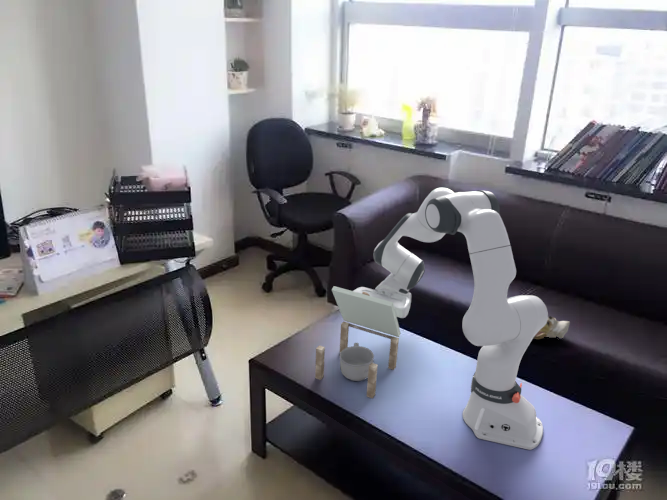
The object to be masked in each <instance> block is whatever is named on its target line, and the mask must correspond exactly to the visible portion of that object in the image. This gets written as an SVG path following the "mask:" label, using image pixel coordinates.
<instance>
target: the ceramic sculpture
mask: <svg viewBox="0 0 667 500" xmlns="http://www.w3.org/2000/svg"><path fill="white" fill-rule="evenodd" d="M570 324H571V322H570V321H568V320H560V321H559V320H557V319H556V317H554V316H551V315H550V316H549V315H548V320H547V323H546V325H545V326H544V327H543V328H542V329H540V330H539V331H538V333H537V334H536V335H535V336H534V338H533V339H534V340H535V339H536V340H541V339H545V338H544V337H549V338H556V336H557V337H559V338H563V339H564V336H565V335H566V334H567V333H568V331H569V327H570Z"/></svg>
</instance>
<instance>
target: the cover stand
mask: <svg viewBox="0 0 667 500" xmlns="http://www.w3.org/2000/svg"><path fill="white" fill-rule="evenodd" d="M349 328H353V329H356V330H360V331H363V332H366V333H370V334H373V335H377V336H379V337H383V338H385V339H390V345H389V355H388V364H387V365H388V367H387V369H389V370H393V371H395V370H396V368H397V362H398V361H397V360H398V349H399V337H396V336H393V335H390V334H386V333H383V332H380V331H376V330H373V329H370V328H367V327H363V326H360V325H357V324H353V323H350V322H347V321H343V322H341V323H340V333H339V336H340V337H339V354H340V353H341V351H342V350H344V349H345V348H347V347H349V346H348V345H349V344H348V343H349V331H350V330H349ZM325 350H326V347H325V346H323V345H320V344H319V345H318V346H317V347H316V348H315V371H314V374H315V376H314V378H315V379H317V380H318V381H321V380H322V379H323V378H324V376H325V374H324V373H325V353H326V352H325ZM378 366H379V364H377V363H375V362H373V363H371V364H370V365H369V370H368V378H367V385H366V386H367V387H366V397H367V398H369V399H372V400H373V399H374V397H375V396H376V389H377V377H378Z"/></svg>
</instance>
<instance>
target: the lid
mask: <svg viewBox="0 0 667 500" xmlns="http://www.w3.org/2000/svg"><path fill="white" fill-rule="evenodd" d="M331 292H332V294H333V297H334V299H335V302H336V305H337V307H338V311H339V313H340V315H341V317H342V320H343V322H347V323H350V324H353V325H356V326H360V327H363V328H366V329H370V330H373V331H376V332H380V333H383V334H386V335H389V336H394V337H397V338H399V337H400V336H401V330H400V325H399V321H398V317H396V313H395V309H394V305H393V302H390V301H386V300H383V299H379V298H375V297H372V296H370V295H369V294H368V293H367V292H362V294H361V293H357V292H354V290H351V289H350V290H349V289H346V288H342V287H339V286H334V285H333V287H332V288H331Z"/></svg>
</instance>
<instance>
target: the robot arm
mask: <svg viewBox="0 0 667 500" xmlns="http://www.w3.org/2000/svg"><path fill="white" fill-rule="evenodd" d="M498 200H499V199H498V198H497V196H496V195H495V194H494V193H493V192H491V191H488V190H479V189H478V190H474V191H458V192H454V191H453V190H451V189H450V188H447V187H437V188H434V189H433V190H431V192H430V193H428V195H427V196H426V197H425V199H424V200H423V201H422V203H421V205H420V206H419V208H418V210H417V211H416V212H414V213H412V212H408V213H406V214H405V215H403V217H401V219H400V220H399V221H398V222H397V223H396V225H395V226H394V227H393V228H392V229H391V230H390V231H389V232H388V234H387V235H386V237H384V239H382V240H381V241H380V242H378V244H376V247H375V248H374V250H373V260H374V262H375V264H377V265H379V266H380V267H382V268H384V269H385V270H387V271H388V272H389V273H390V274H389V275H387V276H386V278H385V279H384V280H382V281H381V282H380V283H379V284H378V285H376V287H375V289H374V288H373V289H372V288H369V287H365V286H360V287H357V288H356V289H354V290H353V291H354V292H357V293H361V294H362V292H367V293H368V294H369V295H370V296H372V297H375V298H379V299H383V300H386V301H390V302H393V305H394V309H395V313H396V317H397V318H400V319H404V318H406V317H407V316H408V315H409V311H410V309H411V303H412V293H411V292H410V290H412V289H414V288H415V287H416V285H417V284H418V283H419V282H420V281H421V279H422V278H423V276H424V274H425V271H426V269H425V262H424V260H423V259H421V258H419V257H418V256H417V255H415V254H414V253H413V252H411V251H409V250H408V249H406V248H405V247H404V246H402V245H401V244H400V243H399V242H398V241H399V240H400V239H401V238H402V237H409V238H411V239H414V240H417V241H419V242H423V243H434V242H438V241H439V240H441V239H442V238H443V237H444V236H445V235H446V234H447V235H452V236H454V235H455V234H456V233H457V232H459V233H461V234H462V235H464V237H465V239H466V244H467V249H468V254H469V258H470V263H471V269H472V273H473V281H474V283H473V284H474V285H473V286H474V288H473V295H472V301H471V303H470V306H469V308H468V310H466V312H465V314H464V316H463V318H462V321H461V322H462V332H463V335H464V336H465V338H466V339H467V341H468V342H470V344H472V345H474V346H475V347H476V346H477V347H481V348H480V350H479V351H478V356H477V360H476V361H477V362H476V366H475V371H474V373H473V375H472V378H471V384H470V395H469V399H468V400H467V404H466V406H465V407H464V408H463V411H462V418H463V421H464V422H465V425H467V426H468V427H469V428H470V429H471V430H472V431H473V433H474V436H475V437H477V438H478V439H480V440H484V441H489V442H493V443H496V444H497V443H498V444H502V445H506V446H511V447H515V448H521V449H525V450H533V449H536V448H537V447H538V446H539V445H540V443H541V441H542V439H543V434H544V426H543V422H542V421H541V419H540V418H539V417H537V412H536V411H537V410H536V407H535V406H534V405H533V404H532V403H531V402H530V401H529V400H527V399H526V397H524V396H523V395H522V387H523V383H522V382H520V384H518V382H517V381H516V380H517V375H518V371H519V366H520V363H521V360H522V358H523V356H524V354H525V352H526V351H527V349H528V347H529V346H530V344H531V342H532V341H533V339H535V338H534V336H535V335H536V334H537V333H538V331H539V330H540V329H542V328H543V327H544V326H545V325H546V323H547V320H548V317H549V313H548V308H547V305H546V304H545V302H543V300H542V299H541V298H540V297H538V296H536V295H528V294H527V295H525V294H524V295H523V294H521V295H515V296H511V297H508V291H509V287H510V284H511V283H512V282H513V280H514V279H515V278H516V275H517V268H516V263H515V260H514V255H513V251H512V246H511V243H510V239H509V234H508V232H507V228H506V226H505V224H504V221H503V218H502V217H501V214H500V203H499V201H498Z"/></svg>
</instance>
